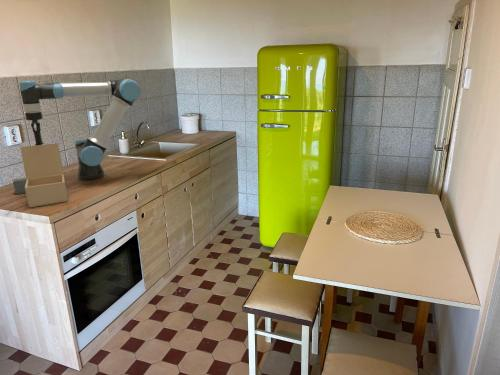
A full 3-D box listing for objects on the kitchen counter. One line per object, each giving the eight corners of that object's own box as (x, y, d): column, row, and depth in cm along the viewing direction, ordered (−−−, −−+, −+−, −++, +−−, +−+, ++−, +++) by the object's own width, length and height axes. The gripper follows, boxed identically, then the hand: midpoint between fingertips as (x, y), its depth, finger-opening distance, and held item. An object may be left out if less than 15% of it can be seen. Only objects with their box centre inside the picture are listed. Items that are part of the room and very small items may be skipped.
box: (66, 191, 201) (63, 174, 198) (68, 201, 188) (64, 182, 185) (30, 197, 194) (26, 179, 191) (29, 207, 181) (24, 187, 177)
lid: (63, 173, 198) (63, 173, 199) (58, 143, 198) (58, 143, 199) (26, 178, 191) (26, 178, 192) (20, 147, 191) (20, 147, 192)
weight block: (33, 189, 208) (30, 177, 205) (32, 191, 203) (30, 179, 201) (16, 191, 204) (13, 179, 202) (15, 194, 200) (12, 181, 198)
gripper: (25, 111, 197) (34, 154, 204) (23, 113, 186) (33, 160, 193) (41, 110, 200) (50, 153, 207) (40, 112, 189) (49, 158, 196)
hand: (41, 156), depth 200 cm, fingers closed
